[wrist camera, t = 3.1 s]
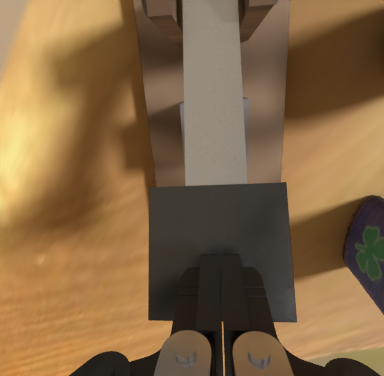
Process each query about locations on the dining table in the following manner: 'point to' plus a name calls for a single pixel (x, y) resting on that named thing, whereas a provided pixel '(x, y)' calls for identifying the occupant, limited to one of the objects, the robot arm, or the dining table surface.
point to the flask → (367, 247)
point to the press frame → (251, 84)
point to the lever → (217, 177)
